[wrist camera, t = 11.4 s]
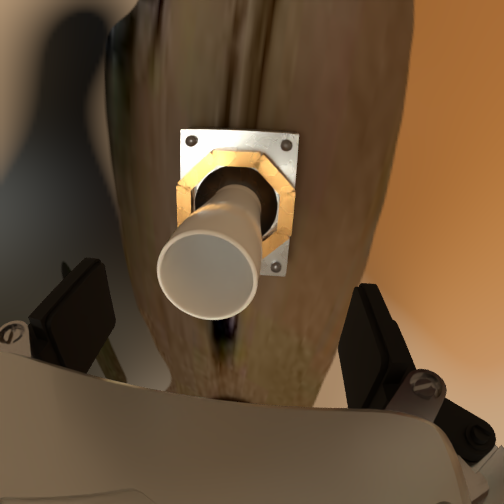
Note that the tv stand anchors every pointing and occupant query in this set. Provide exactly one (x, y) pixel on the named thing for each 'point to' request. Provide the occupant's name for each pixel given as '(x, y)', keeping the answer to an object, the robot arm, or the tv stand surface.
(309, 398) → the tv stand surface
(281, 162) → the octagon ring knob plate
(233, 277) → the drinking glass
